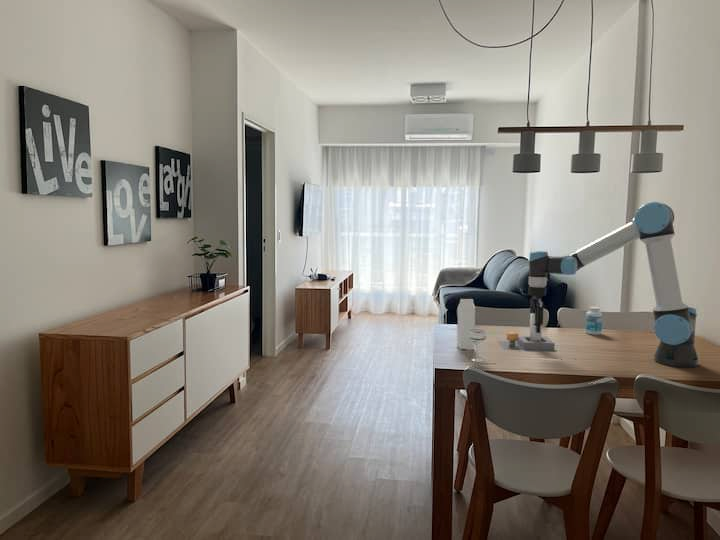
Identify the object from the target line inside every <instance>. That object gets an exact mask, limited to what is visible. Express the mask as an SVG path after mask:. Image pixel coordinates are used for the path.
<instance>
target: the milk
mask: <svg viewBox="0 0 720 540" xmlns="http://www.w3.org/2000/svg"><path fill="white" fill-rule="evenodd" d="M475 321H476V306H475V303H474V299H473V298H460V300H459V303H458V305H457V336H456V338H457V339H456V347H457V346H458V347H459V348H460V349H459V348H458V347H457V348H458V349H459V350H461V349H466V351H468V350H469V351H470V350H471V351H472V350H474V349H475V343H473V342H472V341H471V340H470V338H469V334H470V331H469V330H472V329H476V328H475V327H476V326H475V325H476V323H475ZM467 349H468V350H467Z"/></svg>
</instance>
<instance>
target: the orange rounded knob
mask: <svg viewBox="0 0 720 540" xmlns="http://www.w3.org/2000/svg"><path fill="white" fill-rule="evenodd" d="M518 336H519V333H518V332H515V331H514V332H513V331H508V332H507V333H506V341H515V342H517V341H518Z"/></svg>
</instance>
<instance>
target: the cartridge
mask: <svg viewBox="0 0 720 540" xmlns="http://www.w3.org/2000/svg"><path fill="white" fill-rule="evenodd" d="M529 320H530V321H529V336H530V341H536V342H541V340H534V324H535V313H531V314H530V313H529ZM542 330H543V325H541V339H542V337H543V334H542V333H543V331H542Z"/></svg>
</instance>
